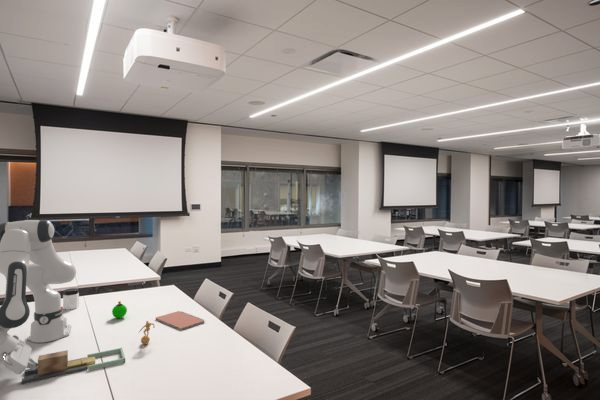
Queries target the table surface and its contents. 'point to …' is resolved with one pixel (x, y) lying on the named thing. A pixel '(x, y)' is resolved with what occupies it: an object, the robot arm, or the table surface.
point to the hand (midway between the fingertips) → (36, 367)
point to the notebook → (180, 320)
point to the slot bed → (33, 374)
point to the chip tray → (108, 363)
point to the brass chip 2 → (88, 361)
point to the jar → (71, 299)
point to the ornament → (119, 310)
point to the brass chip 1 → (74, 364)
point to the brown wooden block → (52, 362)
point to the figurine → (145, 338)
